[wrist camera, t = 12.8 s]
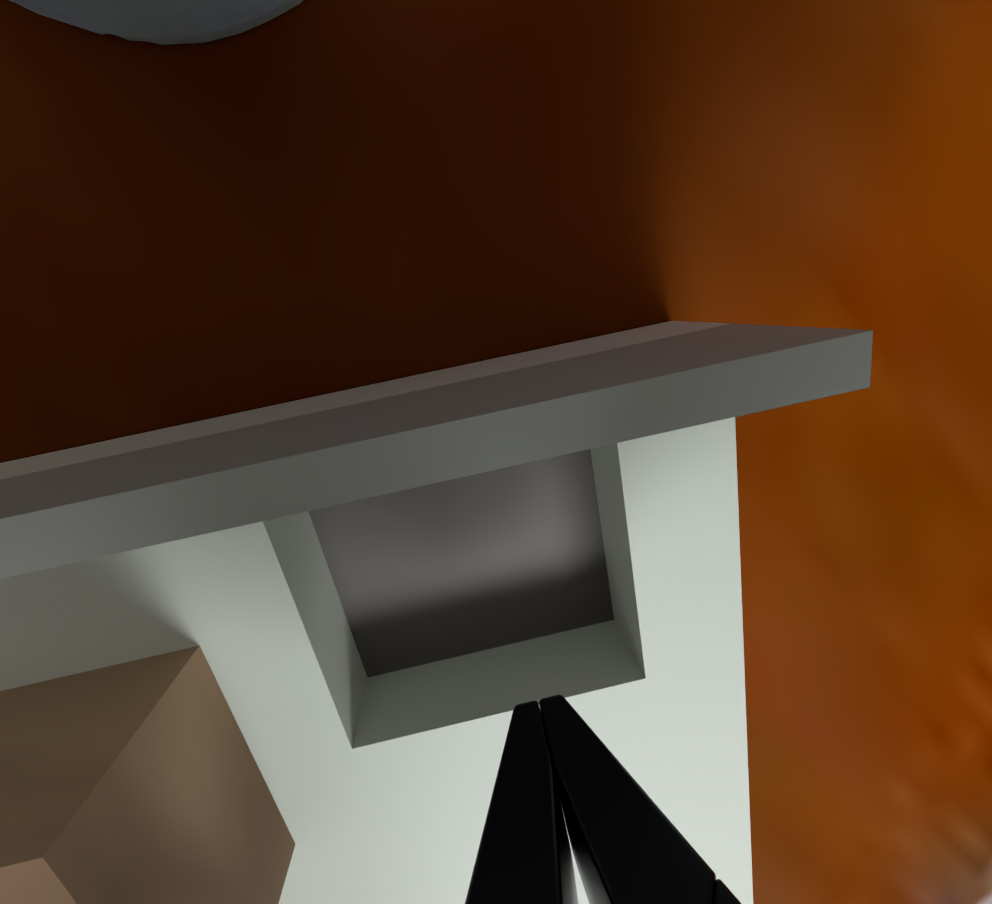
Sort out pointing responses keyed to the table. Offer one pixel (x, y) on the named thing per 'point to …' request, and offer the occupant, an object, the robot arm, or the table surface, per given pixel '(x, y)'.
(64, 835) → the block
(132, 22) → the grey cup
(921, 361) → the table surface
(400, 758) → the tray
